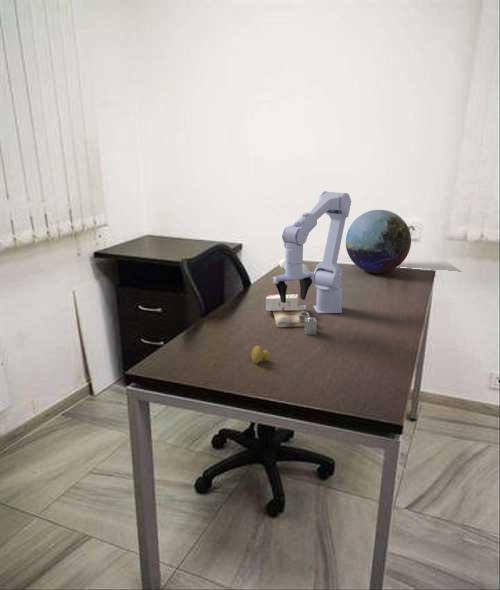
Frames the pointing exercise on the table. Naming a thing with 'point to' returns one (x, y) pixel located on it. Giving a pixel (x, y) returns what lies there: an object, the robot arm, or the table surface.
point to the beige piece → (290, 318)
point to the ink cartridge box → (276, 305)
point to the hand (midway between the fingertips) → (293, 300)
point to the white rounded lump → (282, 265)
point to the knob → (259, 354)
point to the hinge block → (310, 326)
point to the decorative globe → (378, 241)
